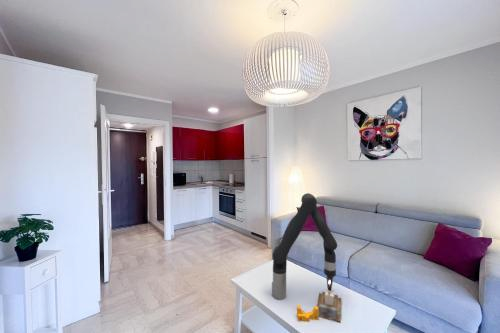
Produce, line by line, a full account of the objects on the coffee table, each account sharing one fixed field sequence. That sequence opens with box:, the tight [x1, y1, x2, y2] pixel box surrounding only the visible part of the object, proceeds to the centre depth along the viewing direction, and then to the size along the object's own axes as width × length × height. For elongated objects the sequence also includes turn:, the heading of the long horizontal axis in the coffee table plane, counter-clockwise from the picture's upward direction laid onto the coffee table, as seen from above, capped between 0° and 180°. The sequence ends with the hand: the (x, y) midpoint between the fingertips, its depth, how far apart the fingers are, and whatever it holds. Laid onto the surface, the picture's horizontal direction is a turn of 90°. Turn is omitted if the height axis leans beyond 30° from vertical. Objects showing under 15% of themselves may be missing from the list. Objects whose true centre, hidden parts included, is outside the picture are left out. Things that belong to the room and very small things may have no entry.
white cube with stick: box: [324, 289, 335, 306], centre depth 137 cm, size 5×6×8 cm
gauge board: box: [316, 291, 342, 324], centre depth 134 cm, size 14×22×6 cm, turn 156°
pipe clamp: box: [296, 304, 319, 322], centre depth 125 cm, size 12×4×6 cm, turn 86°
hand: (329, 292), depth 142 cm, fingers closed
